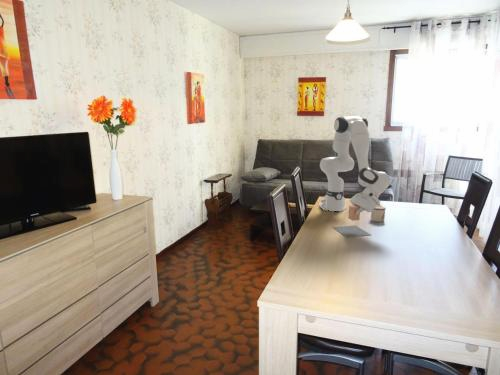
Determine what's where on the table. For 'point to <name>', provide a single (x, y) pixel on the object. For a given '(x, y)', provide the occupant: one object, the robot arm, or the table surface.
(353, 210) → the terracotta block
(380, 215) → the teacup with lid
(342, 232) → the charcoal mat
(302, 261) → the table surface
